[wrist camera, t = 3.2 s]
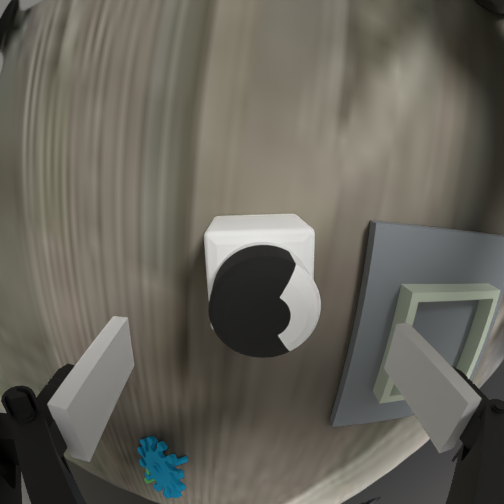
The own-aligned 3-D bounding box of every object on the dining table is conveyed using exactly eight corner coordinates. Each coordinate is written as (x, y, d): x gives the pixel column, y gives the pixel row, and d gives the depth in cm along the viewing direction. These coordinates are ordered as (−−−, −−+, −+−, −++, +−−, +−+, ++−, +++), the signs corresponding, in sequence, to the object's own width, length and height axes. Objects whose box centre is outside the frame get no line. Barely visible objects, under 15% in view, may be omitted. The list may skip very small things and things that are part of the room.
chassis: (370, 220, 29) (387, 228, 25) (508, 235, 30) (528, 243, 26) (329, 419, 35) (336, 440, 32) (456, 398, 36) (468, 412, 33)
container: (218, 294, 30) (203, 374, 18) (213, 215, 28) (190, 252, 16) (296, 290, 31) (328, 367, 18) (297, 213, 29) (338, 246, 16)
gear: (149, 427, 33) (188, 492, 28) (184, 418, 38) (221, 476, 32) (125, 452, 37) (156, 506, 31) (155, 444, 41) (186, 494, 36)
